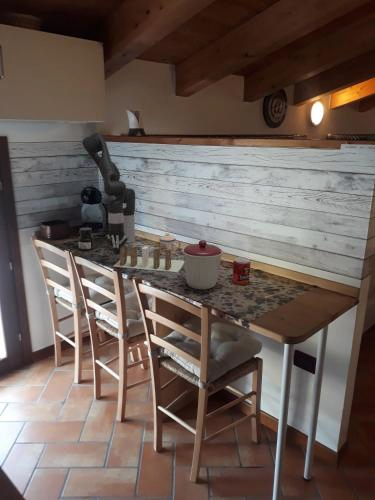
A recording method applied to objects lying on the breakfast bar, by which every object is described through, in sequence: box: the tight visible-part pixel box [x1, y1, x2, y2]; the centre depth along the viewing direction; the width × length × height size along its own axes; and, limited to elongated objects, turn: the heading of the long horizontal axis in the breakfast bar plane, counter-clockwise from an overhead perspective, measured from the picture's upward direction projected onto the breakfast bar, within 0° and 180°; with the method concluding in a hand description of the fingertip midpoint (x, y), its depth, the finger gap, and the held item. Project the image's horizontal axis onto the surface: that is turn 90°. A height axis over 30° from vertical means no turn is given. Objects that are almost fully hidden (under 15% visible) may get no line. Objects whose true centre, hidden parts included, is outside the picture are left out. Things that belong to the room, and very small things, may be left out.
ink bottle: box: [77, 227, 95, 252], centre depth 225 cm, size 10×9×12 cm
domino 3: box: [141, 245, 150, 268], centre depth 196 cm, size 5×2×10 cm, turn 168°
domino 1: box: [119, 243, 129, 266], centre depth 198 cm, size 5×2×10 cm, turn 168°
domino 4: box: [152, 246, 161, 269], centre depth 195 cm, size 5×2×10 cm, turn 168°
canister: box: [181, 239, 224, 290], centre depth 172 cm, size 18×18×21 cm
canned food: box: [232, 256, 251, 286], centre depth 179 cm, size 8×8×11 cm
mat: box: [113, 255, 184, 273], centre depth 202 cm, size 18×34×1 cm, turn 78°
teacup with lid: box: [159, 233, 178, 256], centre depth 219 cm, size 12×9×12 cm
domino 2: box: [129, 244, 138, 267], centre depth 197 cm, size 5×2×10 cm, turn 168°
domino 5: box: [164, 248, 172, 270], centre depth 194 cm, size 5×2×10 cm, turn 168°
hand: (117, 254), depth 199 cm, fingers closed
